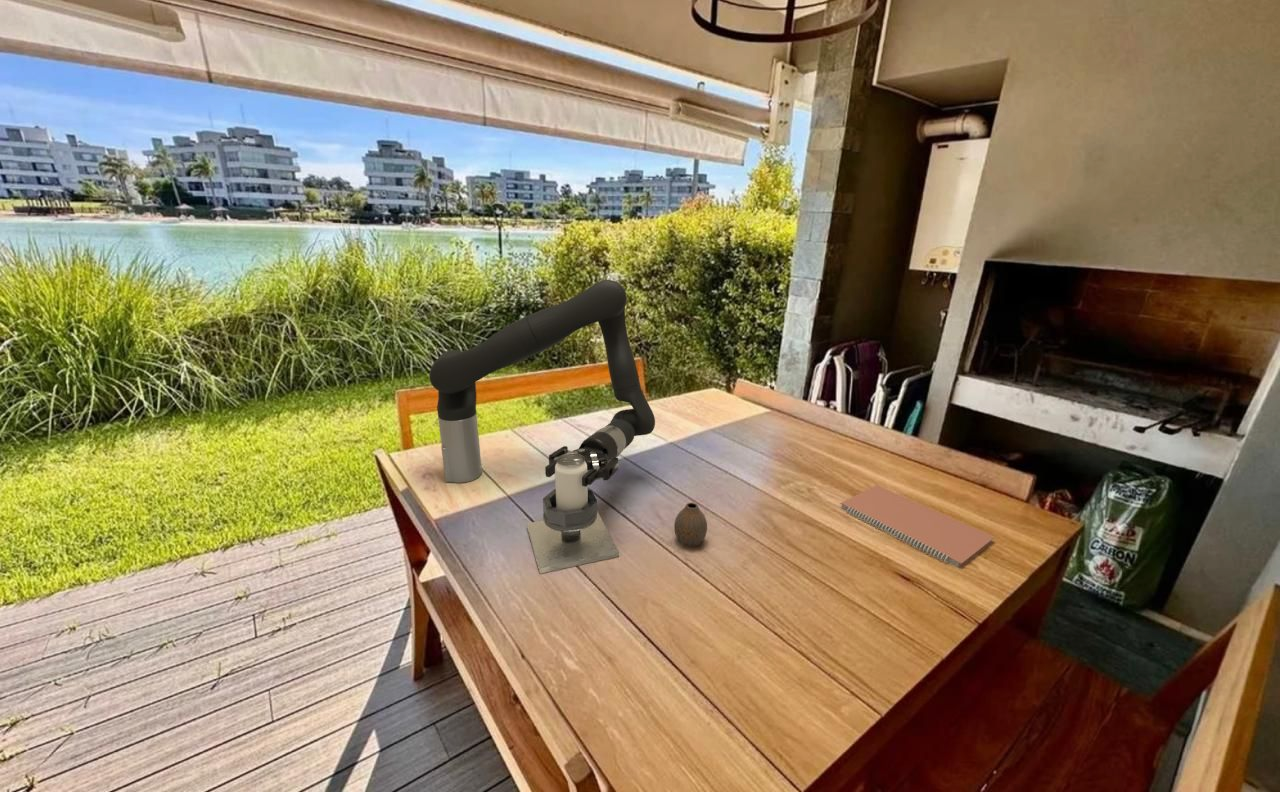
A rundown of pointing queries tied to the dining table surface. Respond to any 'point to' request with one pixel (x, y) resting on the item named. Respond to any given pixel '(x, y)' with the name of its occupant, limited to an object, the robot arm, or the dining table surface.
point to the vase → (690, 525)
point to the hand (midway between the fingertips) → (565, 477)
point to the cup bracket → (570, 536)
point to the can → (570, 482)
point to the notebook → (918, 525)
